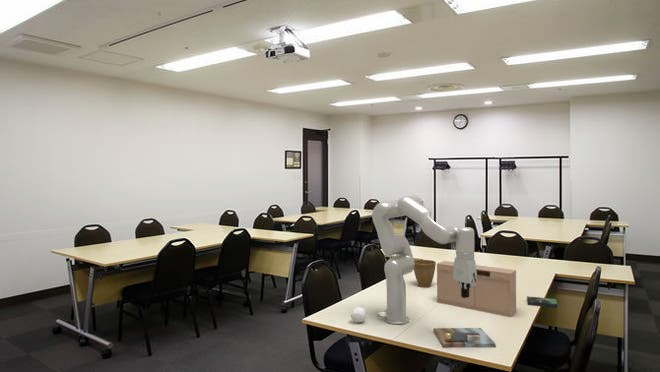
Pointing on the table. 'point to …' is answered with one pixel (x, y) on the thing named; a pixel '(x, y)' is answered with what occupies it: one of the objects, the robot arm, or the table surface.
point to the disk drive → (542, 302)
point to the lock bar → (457, 336)
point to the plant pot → (424, 272)
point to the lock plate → (442, 337)
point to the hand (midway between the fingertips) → (465, 297)
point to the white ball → (358, 314)
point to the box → (479, 289)
